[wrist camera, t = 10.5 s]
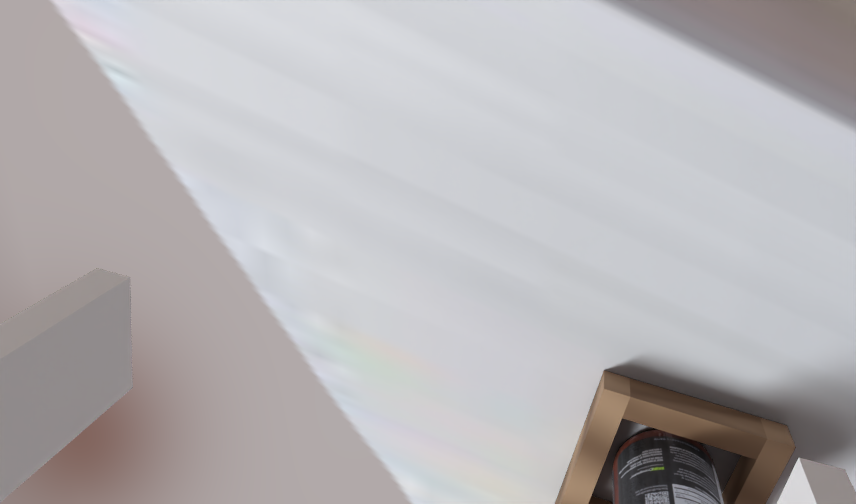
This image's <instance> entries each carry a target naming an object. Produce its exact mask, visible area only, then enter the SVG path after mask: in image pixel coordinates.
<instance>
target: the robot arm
mask: <svg viewBox="0 0 856 504" xmlns="http://www.w3.org/2000/svg"><path fill="white" fill-rule="evenodd" d="M130 295H131V294H130V277H128V276H124V275H120V274H117V273H113V272H110V271H106V270H102V269H99V268H96V269H95V270H93V271H91V272H90V273H88V274H86V275H84V276H83V277H81V278H79V279H77V280H76V281H74V282H72V283H70V284H69V285H67V286H65V287H64V288H62V289H60V290H58V291H57V292H55V293H53V294H51V295H50V296H48V297H46V298H44V299H43V300H41V301H39V302H37V303H36V304H34V305H32V306H30V307H29V308H27V309H25V310H24V311H22V312H20V313H18V314H16V315H15V316H13V317H11V318H10V319H8V320H6V321H4V322H3V323H1V324H0V502H1V501H3V500H4V499H5V498H6V497H7V496H8V495H10V494H11V493H12V492H13V491H14V490H15V489H16V488H17V487H19V486H20V485H21V484H22V483H23V482H25V481H26V480H27V479H28V478H29V477H30V476H31V475H33V474H34V473H35V472H36V471H37V470H38V469H39V468H41V467H42V466H43V465H44V464H45V463H46V462H48V460H50V459H51V458H52V457H53V456H54V455H56V454H57V453H58V452H59V451H60V450H61V449H63V448H64V447H65V446H66V445H67V444H68V443H69V442H71V441H72V440H73V439H74V438H75V437H76V436H78V435H79V434H80V433H81V432H82V431H83V430H84V429H86V428H87V427H88V426H89V425H90V424H91V423H93V422H94V421H95V420H96V419H97V418H98V417H99V416H101V415H102V414H103V413H104V412H105V411H106V410H108V409H109V408H110V407H111V406H112V405H113V404H114V403H116V402H117V401H118V400H119V399H120V398H121V397H122V396H124V395H125V394H126V393H127V392H128V391H129V390H131V389H132V386H133V385H132V341H131V296H130ZM777 504H856V492H855V490H854V488H853V486H852V484H851V482H850V480H849V477H848V475H847V473H846V471H845V470H844V469H840V468H837V467H833V466H829V465H826V464H822V463H818V462H815V461H811V460H807V459H803V458H800V457H799V458H798V460H797V462H796V464H795V466H794V468H793V470H792V472H791V475H790V477H789V479H788V481H787V483H786V485H785V487H784V489H783V492H782V494H781V496H780V498H779V500H778V502H777Z"/></svg>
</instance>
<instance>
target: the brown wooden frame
mask: <svg viewBox="0 0 856 504" xmlns="http://www.w3.org/2000/svg"><path fill="white" fill-rule="evenodd" d="M622 418H623V419H626V420H629V421H633V422H636V423H639V424H642V425H646V426H649V427H652V428H655V429H658V430H662V431H665V432H668V433H671V434H675V435H678V436H681V437H684V438H687V439H691V440H694V441H697V442H700V443H704V444H707V445H710V446H713V447H716V448H720V449H723V450H726V451H729V452H733V453H736V454H739V455H741V457H740V459H739V461H738V463H737V465H736V467H735V469H734V471H733V473H732V475H731V477H730V479H729V481H728V483H727V485H726V487H725V489H724V491H723V493H722V498H723V499H724V500H723V502H724V504H766V502H767V500H768V498H769V496H770V494H771V492H772V491H773V489H774V487H775V485H776V483H777V481H778V479H779V478H780V476H781V474H782V472H783V470H784V468H785V466H786V464H787V463H788V461H789V459H790V457H791V455H792V453H793V451H794V450H795V448H796V447H795V444H794V442H793V439H792V437H791V434H790V432H789V429H788V427H787V425H783V424H780V423H777V422H773V421H770V420H767V419H764V418H760V417H757V416H754V415H750V414H747V413H744V412H740V411H737V410H734V409H730V408H727V407H724V406H721V405H717V404H714V403H711V402H707V401H704V400H701V399H697V398H694V397H691V396H687V395H684V394H681V393H677V392H674V391H671V390H668V389H664V388H661V387H658V386H654V385H651V384H648V383H644V382H641V381H638V380H634V379H631V378H628V377H624V376H621V375H618V374H615V373H611V372H608V371H605V370H604V372H603V375H602V377H601V380H600V383H599V386H598V388H597V391H596V394H595V396H594V399H593V402H592V404H591V407H590V410H589V413H588V415H587V418H586V421H585V423H584V426H583V429H582V432H581V434H580V437H579V440H578V442H577V445H576V448H575V451H574V453H573V456H572V459H571V461H570V464H569V467H568V470H567V472H566V475H565V478H564V480H563V483H562V486H561V489H560V491H559V494H558V497H557V499H556V502H555V504H613V502H610V501H607V500H603V499H600V498H597V497H594V496H591V495H592V493H593V490H594V488H595V485H596V483H597V480H598V478H599V475H600V473H601V470H602V468H603V465H604V463H605V460H606V458H607V455H608V452H609V450H610V447H611V445H612V442H613V440H614V437H615V435H616V432H617V430H618V427H619V425H620V422H621V420H622Z"/></svg>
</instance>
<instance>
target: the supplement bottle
mask: <svg viewBox="0 0 856 504" xmlns="http://www.w3.org/2000/svg"><path fill="white" fill-rule="evenodd" d="M612 481H613V504H724V502H723V500H724V499H723V498H722V494H721V489H720V485H719V481H718V477H717V473H716V470H715V466H714V463H713V461H712V459H711V457H710V455H709V453H708V452H707V450H706V449H705V448H704V447H703V446H702V445H701V444H700V443H698V442H697V441H694V440H691V439H687V438H684V437H681V436H678V435H675V434H671V433H668V432H665V431H662V430H651V431H647V432H643V433H640V434H638V435H636V436H633V437H631V438H630V439H629V440H627V441H626V442H625V443H624V444H623V445H622V446H621V447H620V449H619V450H618V452H617V454H616V456H615V459H614V462H613V472H612Z"/></svg>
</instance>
